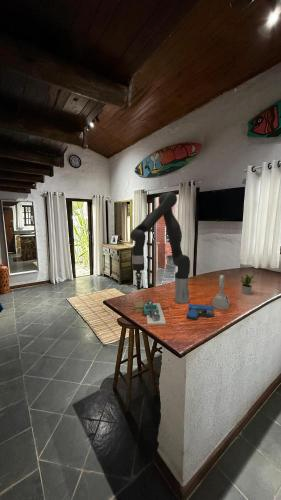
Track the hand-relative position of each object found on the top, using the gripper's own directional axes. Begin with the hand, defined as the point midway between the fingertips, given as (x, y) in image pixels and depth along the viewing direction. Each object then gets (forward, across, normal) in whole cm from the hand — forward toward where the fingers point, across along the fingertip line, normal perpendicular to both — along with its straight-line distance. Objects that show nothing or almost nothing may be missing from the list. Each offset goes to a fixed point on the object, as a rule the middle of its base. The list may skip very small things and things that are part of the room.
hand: (138, 287), depth 132 cm
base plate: (+15, -5, -9) cm, 18 cm away
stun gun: (+15, -10, -36) cm, 41 cm away
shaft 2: (+14, -13, -8) cm, 21 cm away
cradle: (+14, -5, -7) cm, 17 cm away
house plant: (+15, +23, -83) cm, 88 cm away
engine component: (+15, +3, -54) cm, 56 cm away
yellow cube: (+15, 0, 0) cm, 15 cm away
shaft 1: (+14, +3, -7) cm, 16 cm away
